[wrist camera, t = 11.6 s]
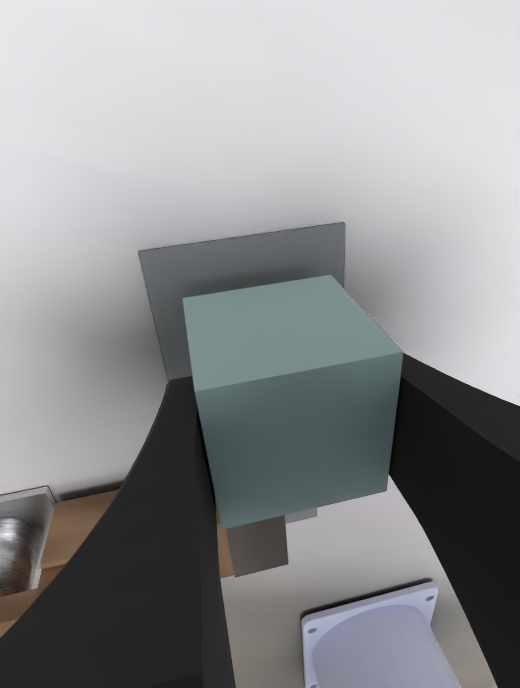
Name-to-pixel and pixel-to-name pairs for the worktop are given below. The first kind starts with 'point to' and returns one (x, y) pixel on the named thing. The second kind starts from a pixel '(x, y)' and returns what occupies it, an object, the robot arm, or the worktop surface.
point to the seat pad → (231, 275)
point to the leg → (83, 513)
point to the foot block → (291, 397)
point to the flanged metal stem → (23, 537)
